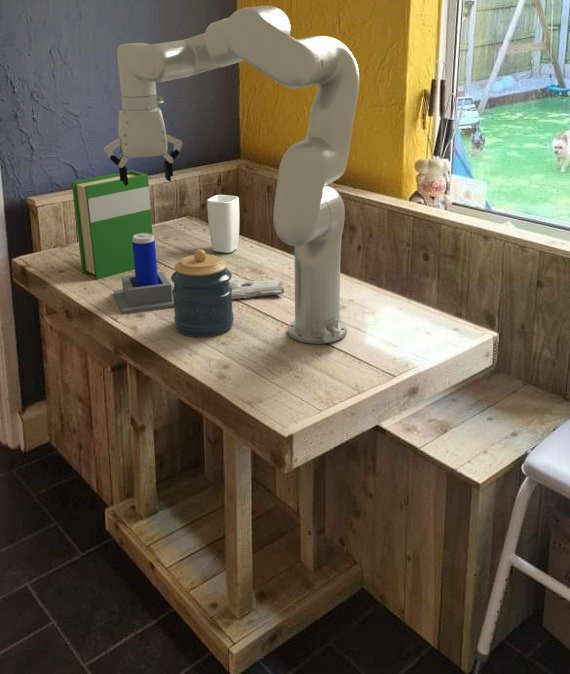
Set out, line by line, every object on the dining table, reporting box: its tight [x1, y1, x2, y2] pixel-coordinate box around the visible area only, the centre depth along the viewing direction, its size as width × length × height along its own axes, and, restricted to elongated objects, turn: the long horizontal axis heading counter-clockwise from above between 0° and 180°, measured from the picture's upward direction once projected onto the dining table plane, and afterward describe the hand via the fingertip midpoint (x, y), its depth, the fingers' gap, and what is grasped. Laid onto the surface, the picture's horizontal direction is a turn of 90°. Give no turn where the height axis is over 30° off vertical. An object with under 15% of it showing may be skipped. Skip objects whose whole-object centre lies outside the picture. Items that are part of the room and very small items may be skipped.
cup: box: [206, 194, 240, 254], centre depth 229 cm, size 7×7×15 cm
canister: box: [170, 248, 234, 338], centre depth 179 cm, size 13×13×18 cm
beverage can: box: [132, 233, 158, 287], centre depth 195 cm, size 5×5×15 cm
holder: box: [113, 271, 174, 315], centre depth 197 cm, size 14×14×5 cm
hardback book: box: [71, 169, 154, 281], centre depth 215 cm, size 18×7×24 cm, turn 132°
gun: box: [229, 278, 285, 300], centre depth 201 cm, size 18×4×10 cm
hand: (147, 182), depth 187 cm, fingers open, 9 cm apart
